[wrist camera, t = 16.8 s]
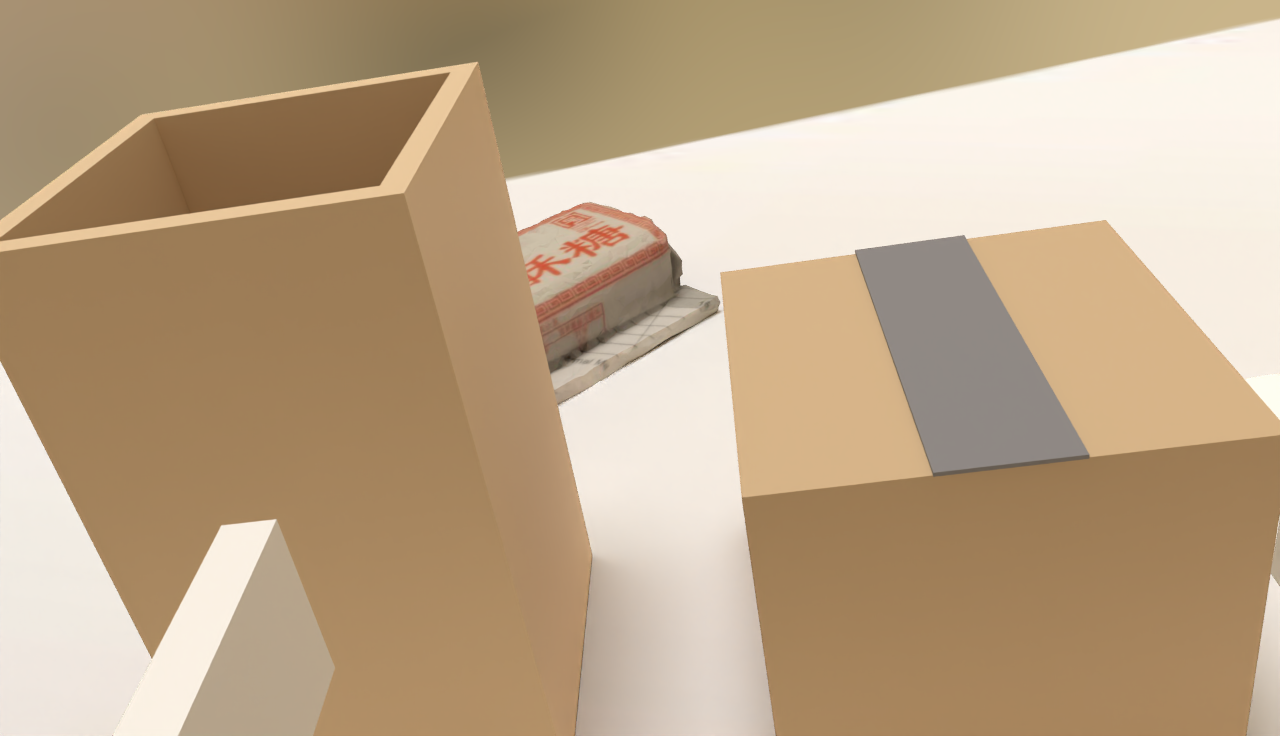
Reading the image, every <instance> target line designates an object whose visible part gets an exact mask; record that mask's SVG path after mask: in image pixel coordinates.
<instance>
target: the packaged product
mask: <svg viewBox="0 0 1280 736" xmlns="http://www.w3.org/2000/svg"><path fill="white" fill-rule="evenodd" d="M517 233H518V237H519V241H520V245H521V250H522V254H523V258H524V263H525V267H526V271H527V276H528V280H529V284H530V289H531V293H532V297H533V302H534V306H535V310H536V314H537V319H538V323H539V327H540V332H541V336H542V340H543V345H544V349H545V353H546V358H547V362H548V366H549V371H550V375H551V379H552V384H553V388H554V392H555V396H556V401H557V404H559V403H561V402H563V401H565V400H567V399H569V398H571V397H573V396H575V395H577V394H578V393H580V392H582V391H584V390H586V389H588V388H589V387H591V386H593V385H594V384H596V383H597V382H599V381H601V380H603V379H605V378H606V377H608V376H609V375H611V374H612V373H614V372H615V371H617V370H618V369H620V368H621V367H623V366H624V365H626V364H627V363H629V362H630V361H632V360H634V359H636V358H638V357H640V356H642V355H643V354H645V353H647V352H648V351H650V350H651V349H653V348H654V347H656V346H657V345H659V344H660V343H662V342H663V341H665V340H667V339H668V338H670V337H671V336H673V335H675V334H677V333H679V332H681V331H683V330H685V329H687V328H689V327H691V326H693V325H696V324H697V323H699V322H700V321H702V320H704V319H705V318H707V317H708V316H710V315H711V314H713V313H715V312H717V310H718V307H719V304H720V301H719V299H718V297H717V296H714V295H710V294H707V293H705V292H702V291H699V290H697V289H694V288H691V287H689V286H687V285H683V286H680V276H681V275H682V274H683V273H682V260H681V258H680V257H679V256H678V254H677V253H676V252H675V250H674V249H673V248H672V247H671V246H670V245H669V244H668V241H667V236H666V234H665V233H664V232H663V231H662V230H661V229H659V228H658V227H656V225H655V224H654V223H653V221H652V220H651V219H650V218H648V217H646V216H643V217H639V216H636V215H634V214H632V213H624V212H622V211H620V210H618V209H615V208H612V207H609V206H603V205H599V204H595V203H592V202H589V203H583V204H579V205H577V206H575V207H573V208H571V209H569V210H566V211H562V212H561V213H559V214H556V215H554V216H552V217H550V218H547V219H545V220H543V221H541V222H540V223H538V224H536V225H533V226H531V227H528V228H526V229H523V230H521V231H518V232H517Z"/></svg>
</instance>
